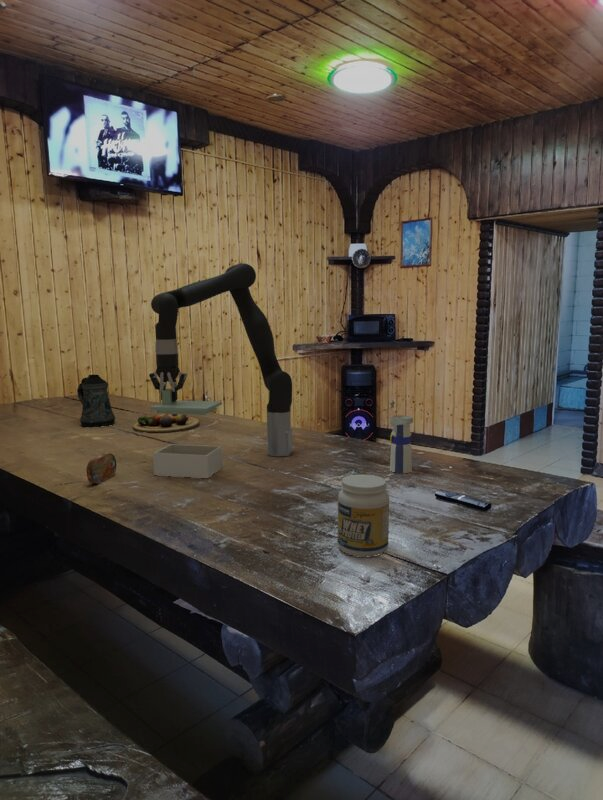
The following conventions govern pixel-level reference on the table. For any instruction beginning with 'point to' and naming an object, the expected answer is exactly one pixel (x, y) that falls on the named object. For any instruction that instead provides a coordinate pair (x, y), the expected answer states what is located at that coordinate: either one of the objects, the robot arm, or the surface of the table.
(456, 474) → the table surface
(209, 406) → the lid
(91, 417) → the beer stein
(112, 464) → the tin
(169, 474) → the parts tub
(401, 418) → the water bottle
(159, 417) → the wooden plate with food
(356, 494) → the supplement tub
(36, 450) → the table surface
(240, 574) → the table surface
